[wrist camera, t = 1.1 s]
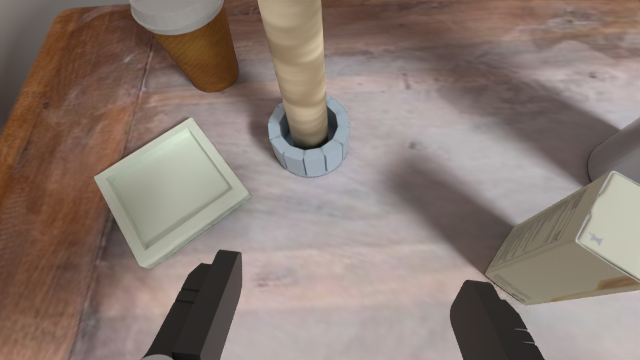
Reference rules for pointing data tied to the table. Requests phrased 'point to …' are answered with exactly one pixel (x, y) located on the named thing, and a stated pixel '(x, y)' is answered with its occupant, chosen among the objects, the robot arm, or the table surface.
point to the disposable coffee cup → (193, 38)
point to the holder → (313, 159)
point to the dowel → (299, 66)
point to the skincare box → (575, 246)
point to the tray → (170, 192)
